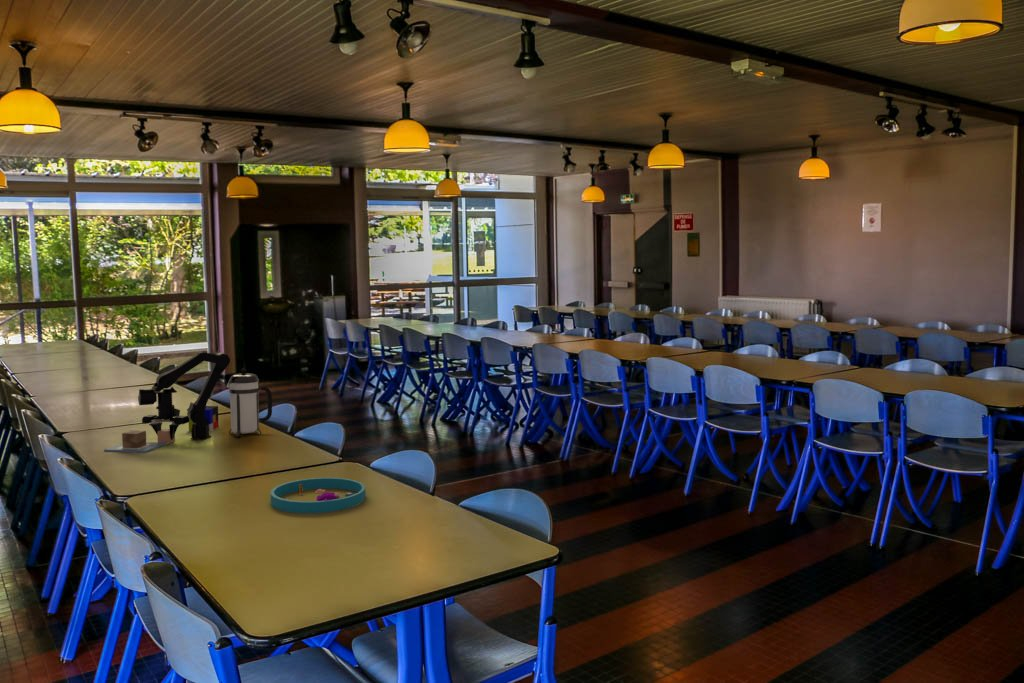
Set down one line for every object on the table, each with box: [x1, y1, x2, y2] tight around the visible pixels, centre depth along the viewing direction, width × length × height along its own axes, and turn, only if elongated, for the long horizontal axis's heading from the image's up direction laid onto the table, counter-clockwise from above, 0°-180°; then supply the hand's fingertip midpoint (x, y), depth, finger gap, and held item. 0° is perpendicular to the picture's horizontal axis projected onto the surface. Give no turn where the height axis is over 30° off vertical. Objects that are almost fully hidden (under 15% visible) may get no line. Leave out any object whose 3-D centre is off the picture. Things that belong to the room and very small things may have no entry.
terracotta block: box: [156, 428, 176, 444], centre depth 356 cm, size 5×5×5 cm
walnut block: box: [121, 429, 147, 448], centre depth 343 cm, size 6×6×6 cm
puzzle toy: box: [188, 405, 220, 432], centre depth 384 cm, size 10×10×10 cm
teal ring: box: [270, 477, 367, 514], centre depth 269 cm, size 30×30×6 cm
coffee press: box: [226, 367, 273, 438], centre depth 372 cm, size 17×16×30 cm
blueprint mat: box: [103, 441, 168, 454], centre depth 344 cm, size 18×16×1 cm
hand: (166, 439), depth 356 cm, fingers closed on terracotta block, 5 cm apart
